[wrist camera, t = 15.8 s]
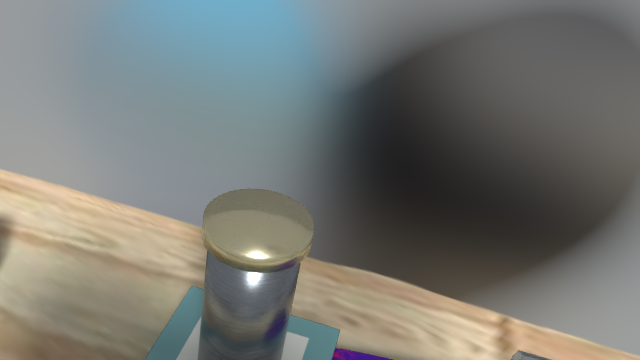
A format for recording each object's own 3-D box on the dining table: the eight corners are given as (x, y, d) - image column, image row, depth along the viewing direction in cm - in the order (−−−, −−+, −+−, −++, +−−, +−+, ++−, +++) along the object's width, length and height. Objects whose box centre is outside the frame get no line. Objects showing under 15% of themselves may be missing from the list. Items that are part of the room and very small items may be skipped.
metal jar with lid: (295, 343, 44) (325, 205, 37) (269, 415, 38) (298, 269, 32) (212, 317, 45) (226, 178, 38) (175, 385, 39) (184, 236, 33)
